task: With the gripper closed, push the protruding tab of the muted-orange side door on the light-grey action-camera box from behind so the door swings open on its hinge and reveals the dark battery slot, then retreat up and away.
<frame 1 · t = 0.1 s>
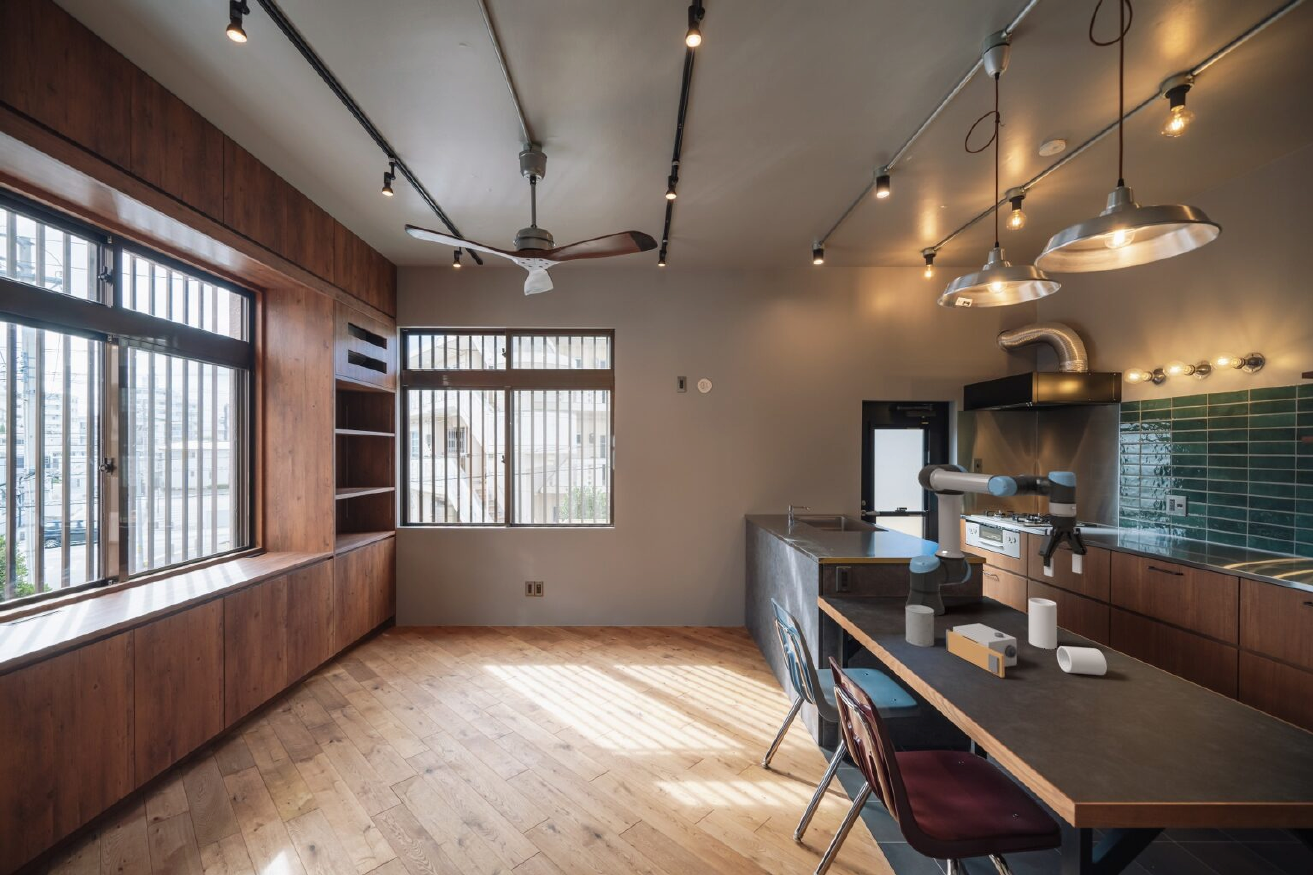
hand: (1063, 574, 176), 28 cm above the table, fingers open, 13 cm apart
grey mottled cylinder: (919, 641, 187), on the table
mug: (1077, 670, 164), on the table
camera body: (983, 658, 172), on the table
cup: (1042, 644, 183), on the table
side door: (972, 652, 168), point 4 cm above the table, hinge at 0.0°
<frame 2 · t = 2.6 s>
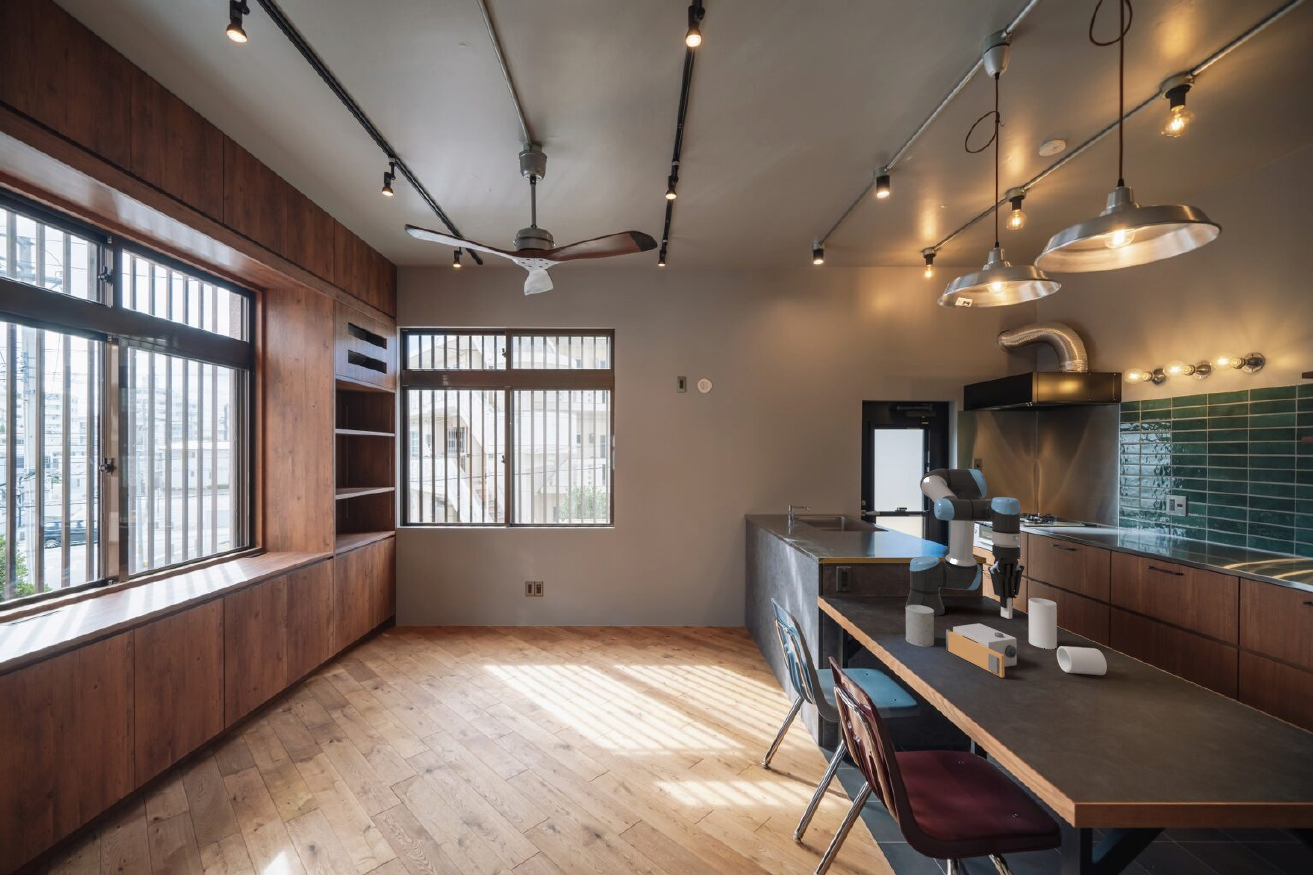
hand: (1006, 617, 161), 18 cm above the table, fingers closed
nothing on the table moved.
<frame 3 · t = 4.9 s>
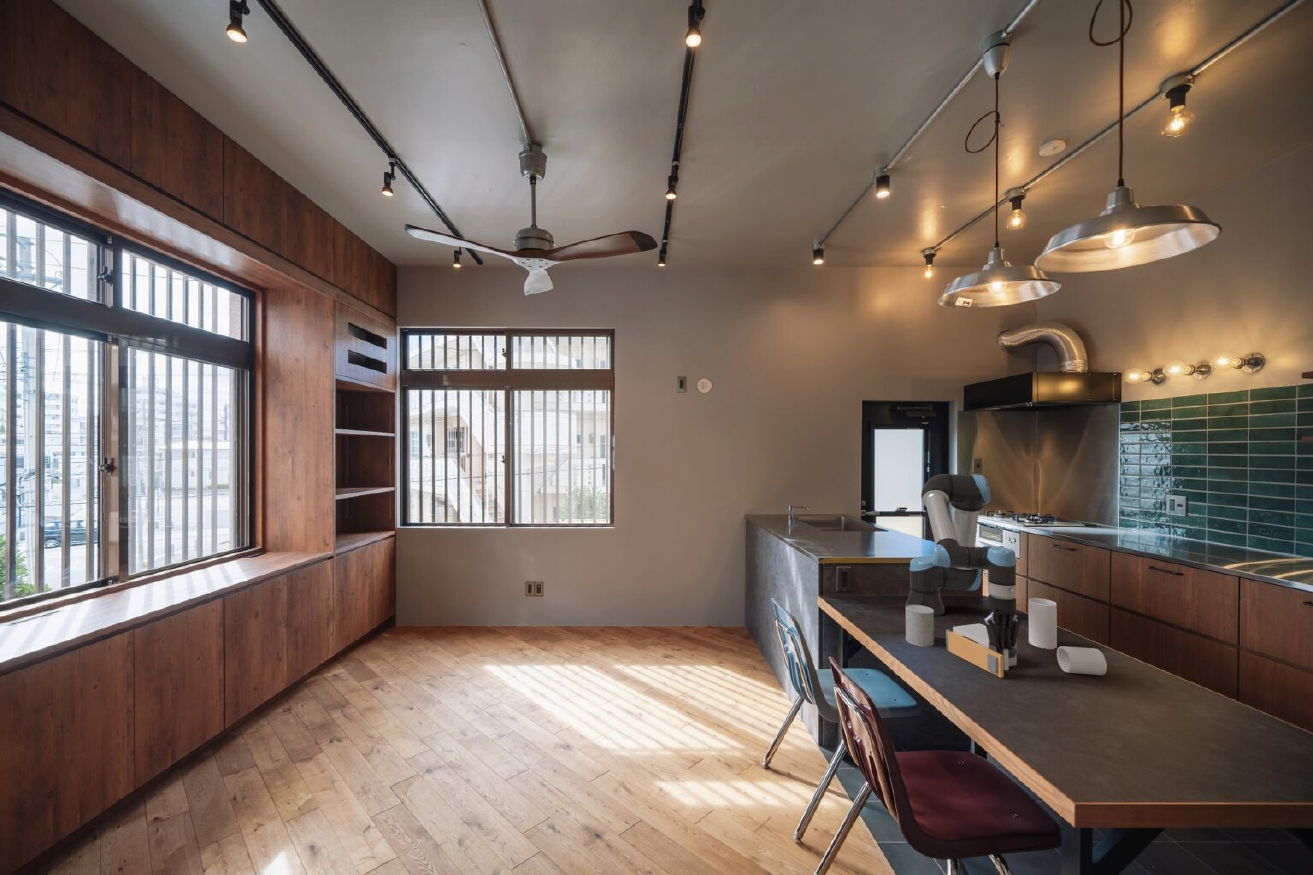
hand: (1003, 668, 161), 2 cm above the table, fingers closed
side door: (971, 652, 168), point 4 cm above the table, hinge at 1.2°, touching gripper
everything else where it was.
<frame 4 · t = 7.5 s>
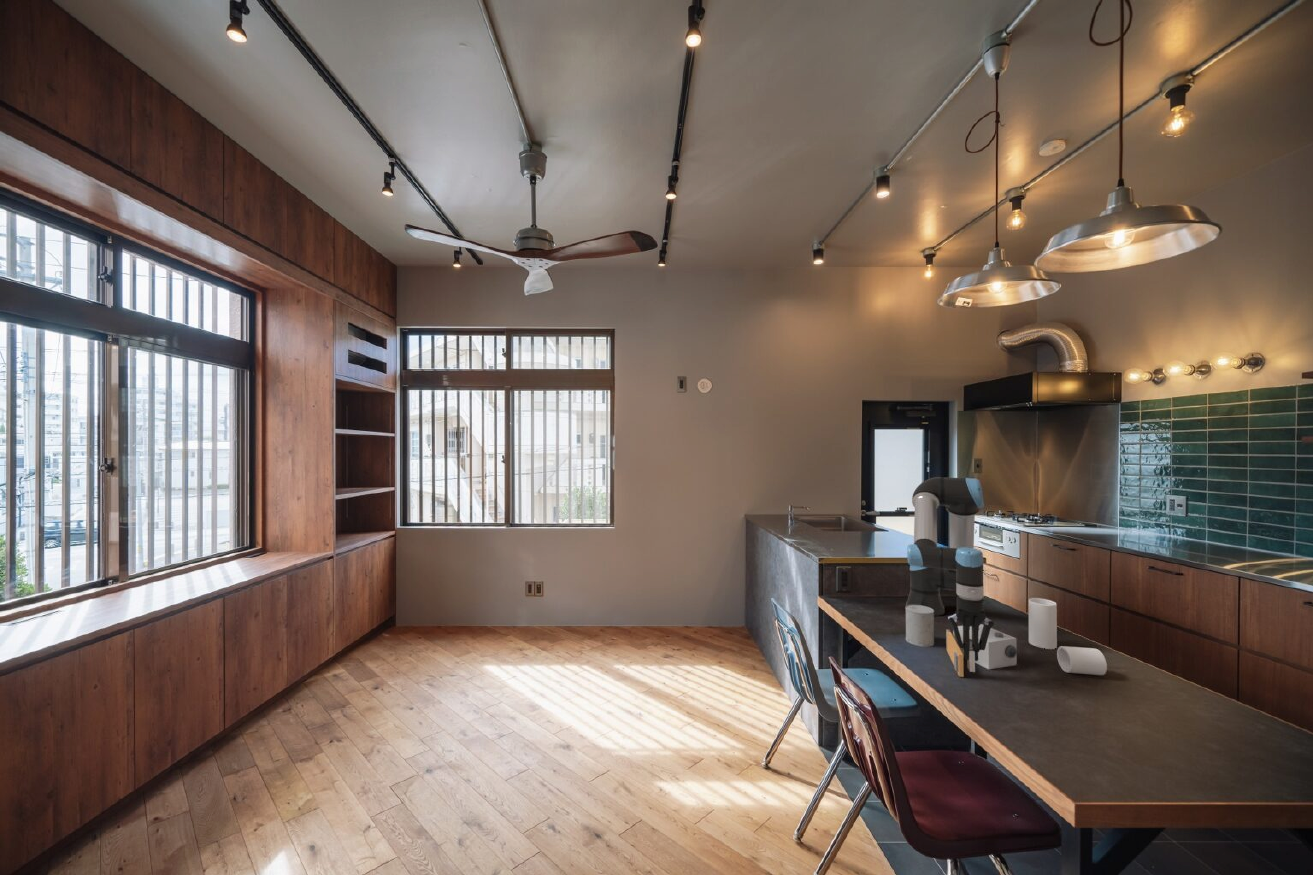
hand: (971, 669, 160), 2 cm above the table, fingers closed
side door: (953, 651, 169), point 4 cm above the table, hinge at 36.1°, touching gripper
everything else where it was.
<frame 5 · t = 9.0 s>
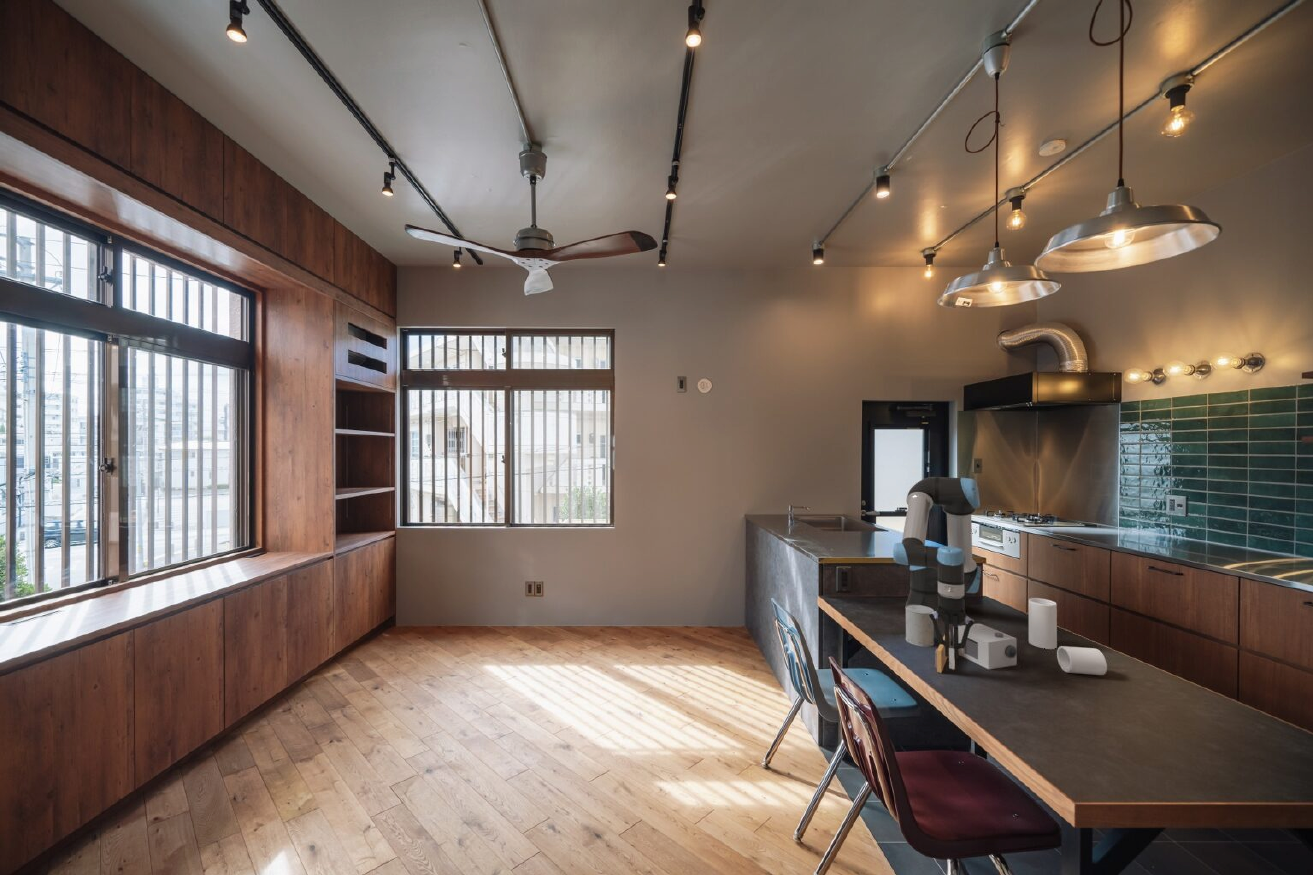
hand: (952, 667, 162), 2 cm above the table, fingers closed
side door: (943, 649, 170), point 4 cm above the table, hinge at 53.0°, touching gripper
everything else where it was.
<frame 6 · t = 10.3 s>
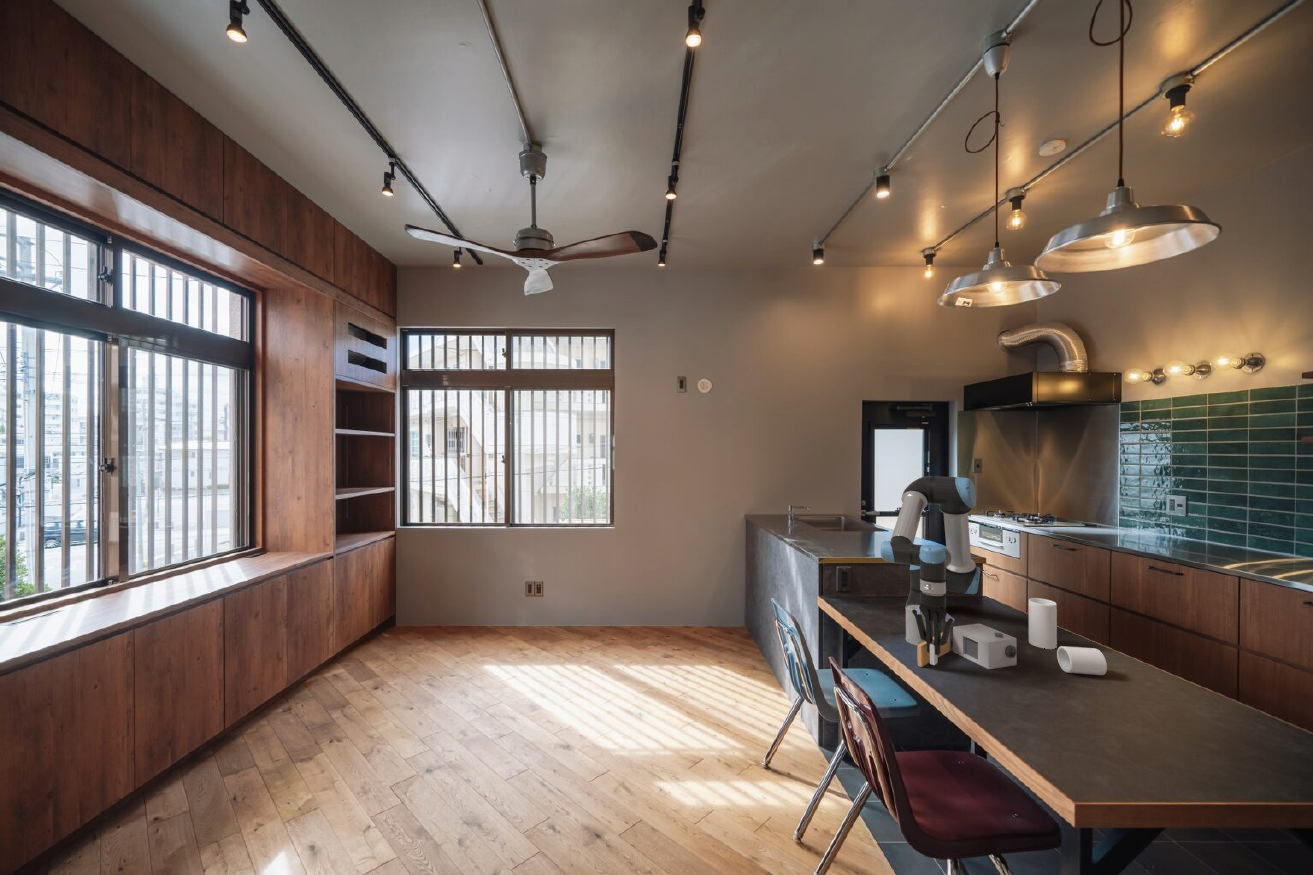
hand: (933, 663, 165), 2 cm above the table, fingers closed
side door: (934, 647, 172), point 4 cm above the table, hinge at 69.3°, touching gripper
everything else where it was.
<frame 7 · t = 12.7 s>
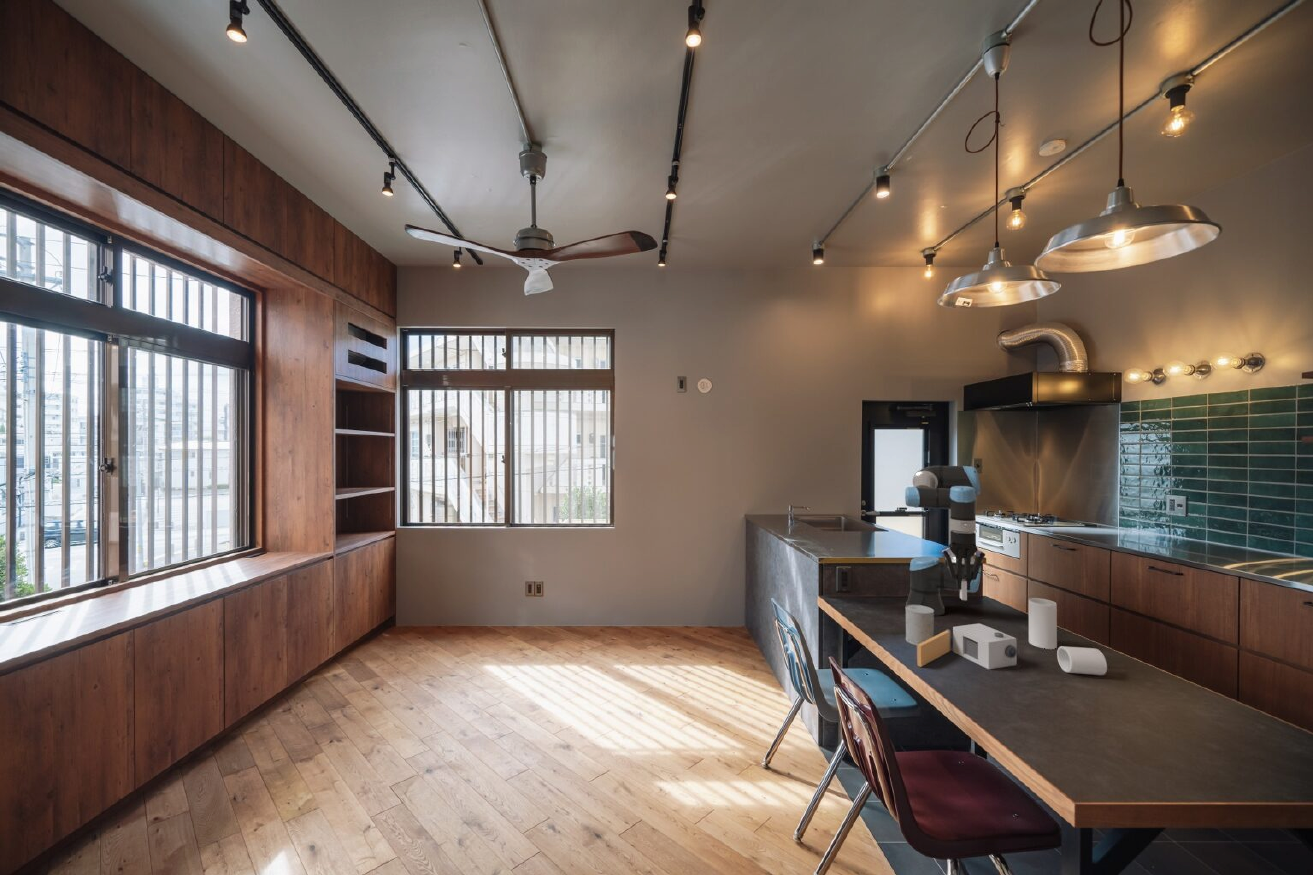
hand: (963, 598, 171), 21 cm above the table, fingers closed
side door: (933, 646, 172), point 4 cm above the table, hinge at 69.5°
everything else where it was.
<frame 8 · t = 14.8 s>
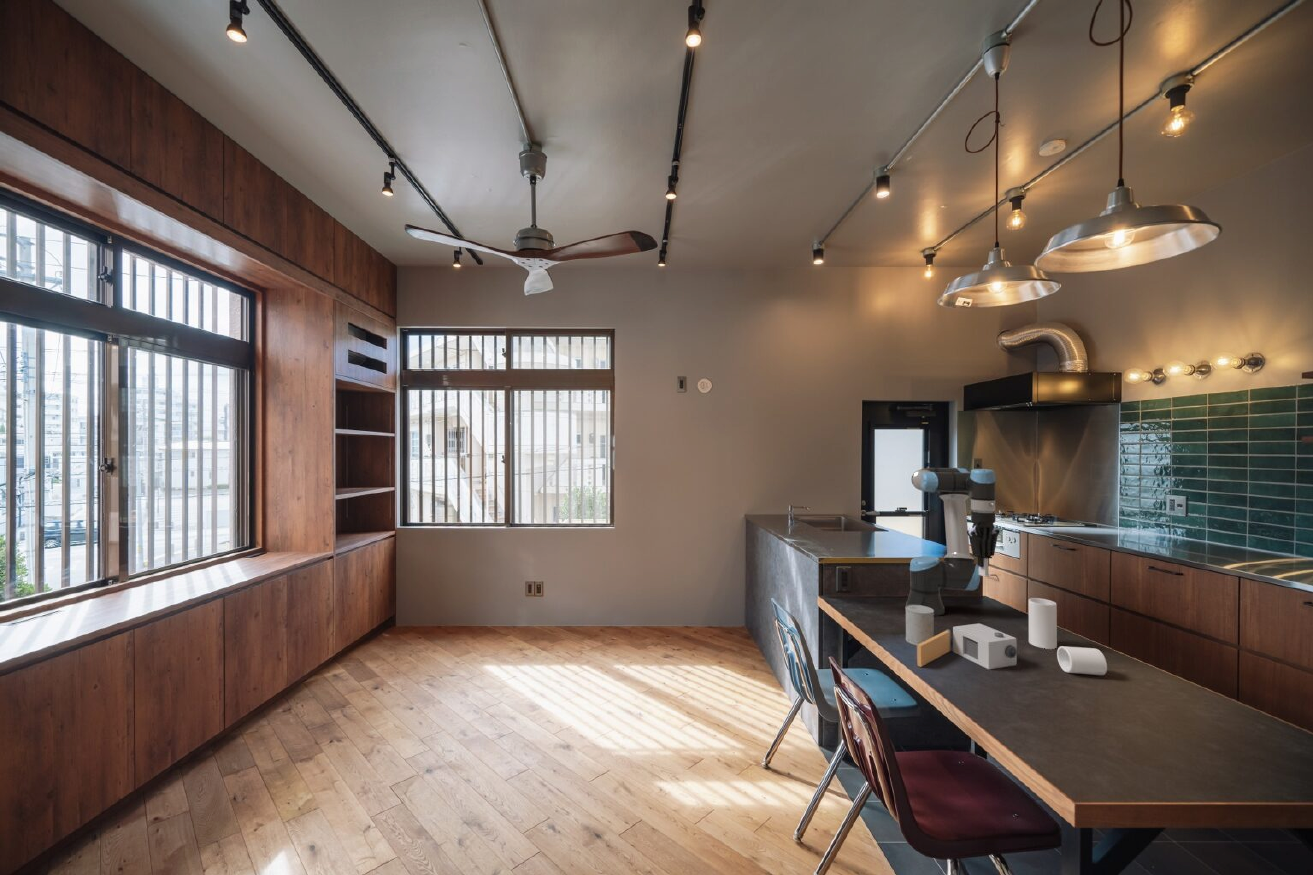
hand: (983, 575, 181), 26 cm above the table, fingers closed
nothing on the table moved.
at the end: side door at +70° (first picture: +0°); side door touching nothing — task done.
